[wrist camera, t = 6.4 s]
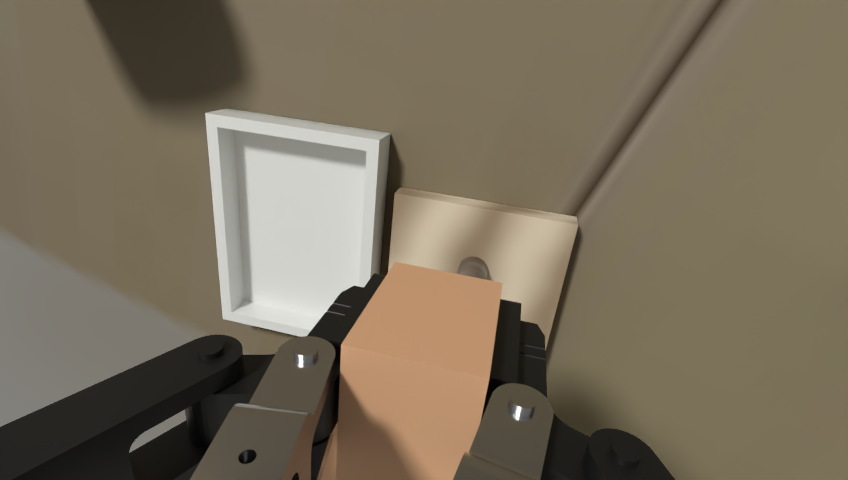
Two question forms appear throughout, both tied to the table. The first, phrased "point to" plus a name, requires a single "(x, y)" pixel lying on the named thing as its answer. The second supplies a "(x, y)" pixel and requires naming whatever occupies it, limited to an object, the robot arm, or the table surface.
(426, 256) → the stake board
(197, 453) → the robot arm
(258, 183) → the white tray
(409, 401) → the terracotta ring
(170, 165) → the table surface
